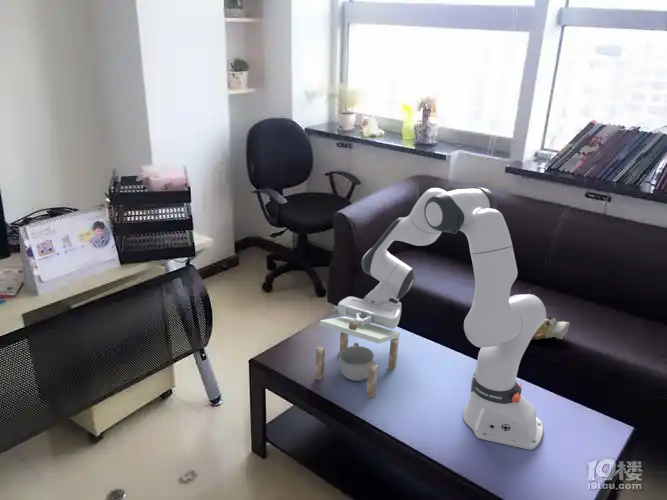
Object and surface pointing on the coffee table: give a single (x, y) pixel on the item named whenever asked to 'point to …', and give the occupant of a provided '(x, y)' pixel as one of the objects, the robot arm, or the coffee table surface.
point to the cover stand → (372, 367)
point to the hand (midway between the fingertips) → (358, 323)
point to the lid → (360, 329)
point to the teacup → (356, 362)
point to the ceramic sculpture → (551, 329)
